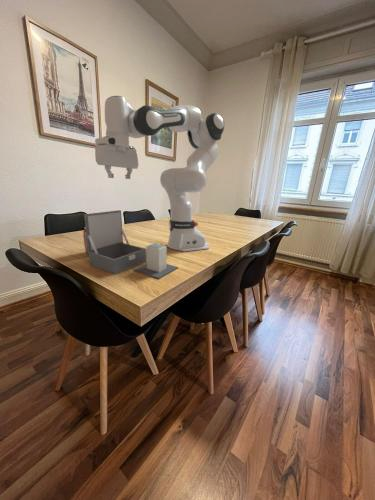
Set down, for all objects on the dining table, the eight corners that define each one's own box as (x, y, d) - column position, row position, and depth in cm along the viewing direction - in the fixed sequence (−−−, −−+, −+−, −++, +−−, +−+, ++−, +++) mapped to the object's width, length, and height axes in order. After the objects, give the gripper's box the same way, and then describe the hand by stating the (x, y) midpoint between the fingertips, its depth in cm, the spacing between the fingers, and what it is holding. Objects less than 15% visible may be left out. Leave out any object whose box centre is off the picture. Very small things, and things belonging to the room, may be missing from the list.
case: (147, 261, 88) (146, 214, 82) (116, 274, 75) (111, 219, 68) (122, 253, 96) (119, 210, 89) (89, 265, 82) (83, 214, 76)
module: (166, 268, 81) (166, 245, 78) (159, 272, 77) (158, 248, 74) (154, 264, 84) (154, 242, 81) (146, 268, 80) (146, 245, 77)
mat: (154, 261, 88) (154, 260, 88) (178, 268, 82) (178, 267, 82) (134, 270, 78) (134, 269, 78) (158, 279, 73) (158, 277, 72)
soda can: (100, 255, 93) (98, 229, 89) (83, 255, 91) (80, 229, 88) (103, 250, 99) (101, 225, 96) (87, 250, 98) (84, 225, 94)
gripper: (130, 147, 95) (132, 179, 99) (91, 138, 78) (94, 177, 82) (141, 146, 92) (141, 179, 96) (102, 137, 75) (105, 177, 79)
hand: (119, 178), depth 89 cm, fingers open, 8 cm apart
